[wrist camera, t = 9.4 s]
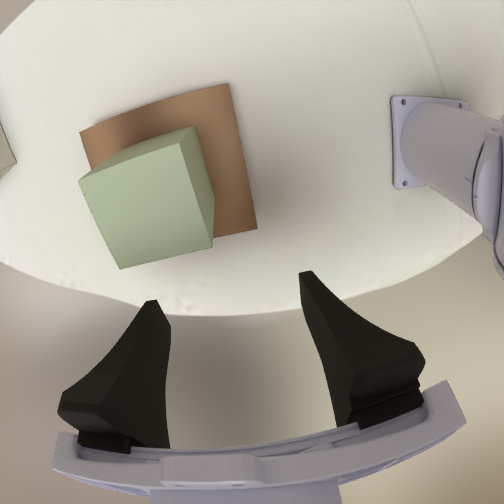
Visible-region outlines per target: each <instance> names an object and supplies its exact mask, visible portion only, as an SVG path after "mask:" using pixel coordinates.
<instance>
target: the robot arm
mask: <svg viewBox="0 0 504 504" xmlns="http://www.w3.org/2000/svg"><path fill="white" fill-rule="evenodd" d="M402 99H403V104H401V100H402ZM391 106H392V120H393V142H394V187H395V188H397V189H406V188H412V187H419V186H426V185H428V186H429V187H431V188H432V189H434V190H435V191H437V192H438V193H440V194H441V195H443V196H444V197H446V198H447V199H448V200H450V201H451V202H453V203H454V204H455V205H457V206H458V207H460V208H461V209H462V210H464V211H465V212H466V213H468V214H469V215H470V216H471V217H473V218H474V219H475V220H477V221H478V222H479V223H480V224H481V225H482V229H483V236H484V237H485V238H486V239H487V240H488V241H490V242H491V243H492V244H493V248H492V258H493V262H494V265H495V268H496V269H497V272H498V273H499V275H500V276H501V277H502V279H503V280H504V115H503V116H502V117H500V119H499V121H497V120H494V119H491V118H488V117H485V116H482V115H479V114H475V113H472V112H470V106H469V103H468V102H466V101H460V100H452V99H443V98H433V97H419V96H393V97H392V99H391ZM404 181H405V183H404V184H403V182H404ZM299 283H300V295H301V304H302V308H303V312H304V316H305V319H306V322H307V325H308V327H309V330H310V332H311V335H312V337H313V340H314V343H315V345H316V347H317V350H318V353H319V355H320V358H321V361H322V365H323V368H324V372H325V375H326V380H327V383H328V388H329V392H330V397H331V401H332V406H333V410H334V415H335V420H336V425H337V428H334V429H330V430H327V431H323V432H318V433H315V434H310V435H305V436H301V437H296V438H291V439H285V440H280V441H274V442H267V443H260V444H253V445H244V446H233V447H221V448H201V449H170V443H169V436H168V429H167V419H166V402H165V401H166V400H165V385H166V375H167V366H168V360H169V352H170V345H171V326H170V324H169V322H168V320H167V318H166V316H165V315H164V313H163V311H162V309H161V307H160V305H159V303H158V301H157V300H151V301H146V302H145V303H144V305H143V306H142V308H141V309H140V311H139V312H138V313H137V315H136V316H135V318H134V319H133V321H132V322H131V324H130V325H129V327H128V328H127V330H126V331H125V332H124V334H123V335H122V336H121V338H120V339H119V340H118V342H117V343H116V344H115V346H114V347H113V348H112V349H111V350H110V352H109V353H108V354H107V355H106V356H105V357H104V358H103V359H102V361H100V362H99V363H98V364H97V365H96V366H95V367H94V368H93V369H92V370H91V371H90V372H89V373H88V374H87V375H85V377H83V378H82V379H81V380H79V381H78V382H77V383H75V384H74V385H73V386H71V387H70V388H68V389H67V390H65V391H64V392H63V393H62V396H61V400H60V403H59V407H58V411H57V412H58V415H59V416H60V417H61V418H62V419H63V420H64V421H66V422H67V423H69V424H70V425H72V426H73V427H74V428H76V429H77V430H79V435H76V434H73V433H70V432H65V431H59V432H58V436H57V441H56V446H55V451H54V457H53V462H52V469H53V470H55V471H57V472H59V473H62V474H64V475H66V476H68V477H71V478H73V479H75V480H78V481H80V482H83V483H87V484H90V485H94V486H98V487H101V488H106V489H109V490H114V491H118V492H123V493H127V494H132V495H137V496H143V497H149V498H150V504H342V500H341V496H340V492H339V487H338V485H341V484H344V483H348V482H351V481H354V480H357V479H360V478H363V477H366V476H368V475H371V474H374V473H376V472H379V471H381V470H384V469H386V468H389V467H391V466H393V465H396V464H398V463H400V462H402V461H405V460H407V459H409V458H411V457H413V456H415V455H417V454H419V453H421V452H423V451H425V450H427V449H429V448H431V447H433V446H435V445H437V444H439V443H440V442H442V441H444V440H445V439H447V438H448V437H449V436H451V435H452V434H453V433H454V432H456V431H457V430H458V429H460V428H461V427H462V426H463V425H465V424H466V422H467V421H466V419H465V417H464V415H463V412H462V410H461V408H460V406H459V404H458V402H457V400H456V397H455V395H454V393H453V391H452V389H451V388H450V385H449V383H448V382H447V381H446V380H444V381H442V382H440V383H438V384H436V385H434V386H432V387H430V388H428V389H426V390H424V391H423V392H422V393H421V392H420V390H419V387H420V383H419V381H418V377H419V375H420V374H421V372H422V370H423V368H424V366H425V359H424V357H423V355H422V353H421V352H420V350H419V349H418V347H417V346H416V345H415V343H414V342H411V341H408V340H405V339H403V338H400V337H397V336H395V335H393V334H391V333H389V332H387V331H384V330H383V329H381V328H379V327H377V326H376V325H374V324H372V323H370V322H369V321H367V320H366V319H364V318H363V317H361V316H360V315H358V314H357V313H356V312H354V311H353V310H352V309H350V308H349V307H348V306H347V305H346V304H344V303H343V302H342V301H341V300H340V299H339V298H338V297H336V296H335V295H334V294H333V293H332V292H331V291H330V290H329V289H328V288H327V287H326V286H325V285H324V284H323V283H322V282H321V281H320V279H319V278H318V277H317V276H316V275H315V274H314V272H312V271H306V272H301V273H299Z"/></svg>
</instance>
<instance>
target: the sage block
mask: <svg viewBox="0 0 504 504" xmlns="http://www.w3.org/2000/svg"><path fill="white" fill-rule="evenodd" d="M78 183H79V186H80V188H81V190H82V193H83V195H84V197H85V200H86V202H87V204H88V207H89V209H90V211H91V213H92V215H93V218H94V220H95V222H96V224H97V226H98V228H99V230H100V232H101V234H102V236H103V238H104V240H105V242H106V244H107V246H108V248H109V250H110V252H111V254H112V256H113V258H114V260H115V262H116V263H117V265H118V267H119V269H124V268H128V267H132V266H136V265H140V264H144V263H149V262H153V261H157V260H161V259H165V258H169V257H174V256H178V255H182V254H186V253H190V252H195V251H199V250H203V249H207V248H212V241H213V223H214V206H215V196H214V193H213V189H212V186H211V182H210V179H209V175H208V172H207V168H206V165H205V161H204V157H203V154H202V150H201V147H200V143H199V139H198V136H197V132H196V129H195V125H192V126H189V127H185V128H182V129H178V130H175V131H172V132H169V133H166V134H163V135H160V136H157V137H154V138H151V139H148V140H145V141H142V142H140V143H137V144H134V145H131V146H129V147H126V148H124V149H121V150H119V151H118V152H116V153H115V154H113V155H112V156H111V157H109V158H108V159H106V160H105V161H103V162H102V163H101V164H99V165H98V166H97V167H95V168H94V169H93V170H91V171H90V172H89V173H87V174H86V175H85V176H83V177H82V178H81V179H79V180H78Z"/></svg>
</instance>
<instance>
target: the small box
mask: <svg viewBox="0 0 504 504" xmlns="http://www.w3.org/2000/svg"><path fill="white" fill-rule="evenodd" d="M15 164H16V160H15V158H14V156H13V154H12V151H11V149H10V147H9V144H8V142H7V140H6V137H5V135H4V132H3V130H2V127H1V124H0V179H1V178H2V177H3V176H4V175H5V174H6V173H7V172H8V171H9V170H10V169H11V168H12V167H13V166H14V165H15Z"/></svg>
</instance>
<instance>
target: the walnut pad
mask: <svg viewBox="0 0 504 504" xmlns="http://www.w3.org/2000/svg"><path fill="white" fill-rule="evenodd" d="M192 125H195V129H196V132H197V136H198V139H199V143H200V147H201V150H202V154H203V157H204V161H205V165H206V168H207V172H208V175H209V179H210V182H211V186H212V189H213V193H214V196H215V206H214V223H213V238H216V237H221V236H225V235H230V234H235V233H240V232H244V231H249V230H254V229H258V227H257V222H256V217H255V212H254V207H253V202H252V197H251V192H250V187H249V182H248V177H247V172H246V167H245V162H244V157H243V152H242V147H241V142H240V137H239V132H238V127H237V122H236V118H235V113H234V108H233V103H232V98H231V94H230V89H229V84H228V83H227V84H222V85H218V86H213V87H209V88H204V89H200V90H196V91H192V92H188V93H185V94H181V95H177V96H174V97H171V98H167V99H164V100H161V101H157V102H154V103H151V104H148V105H145V106H142V107H140V108H137V109H134V110H131V111H129V112H126V113H123V114H121V115H118V116H116V117H113V118H111V119H108V120H106V121H103V122H101V123H99V124H96V125H94V126H92V127H90V128H88V129H85V130H83V131H81V132H79V133H80V136H81V139H82V143H83V146H84V149H85V152H86V155H87V158H88V161H89V164H90V167H91V170H93V169H94V168H95V167H97V166H98V165H99V164H101V163H102V162H103V161H105V160H106V159H108V158H109V157H111V156H112V155H113V154H115V153H116V152H118V151H119V150H121V149H124V148H126V147H129V146H131V145H134V144H137V143H140V142H142V141H145V140H148V139H151V138H154V137H157V136H160V135H163V134H166V133H169V132H172V131H175V130H178V129H182V128H185V127H189V126H192Z"/></svg>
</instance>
